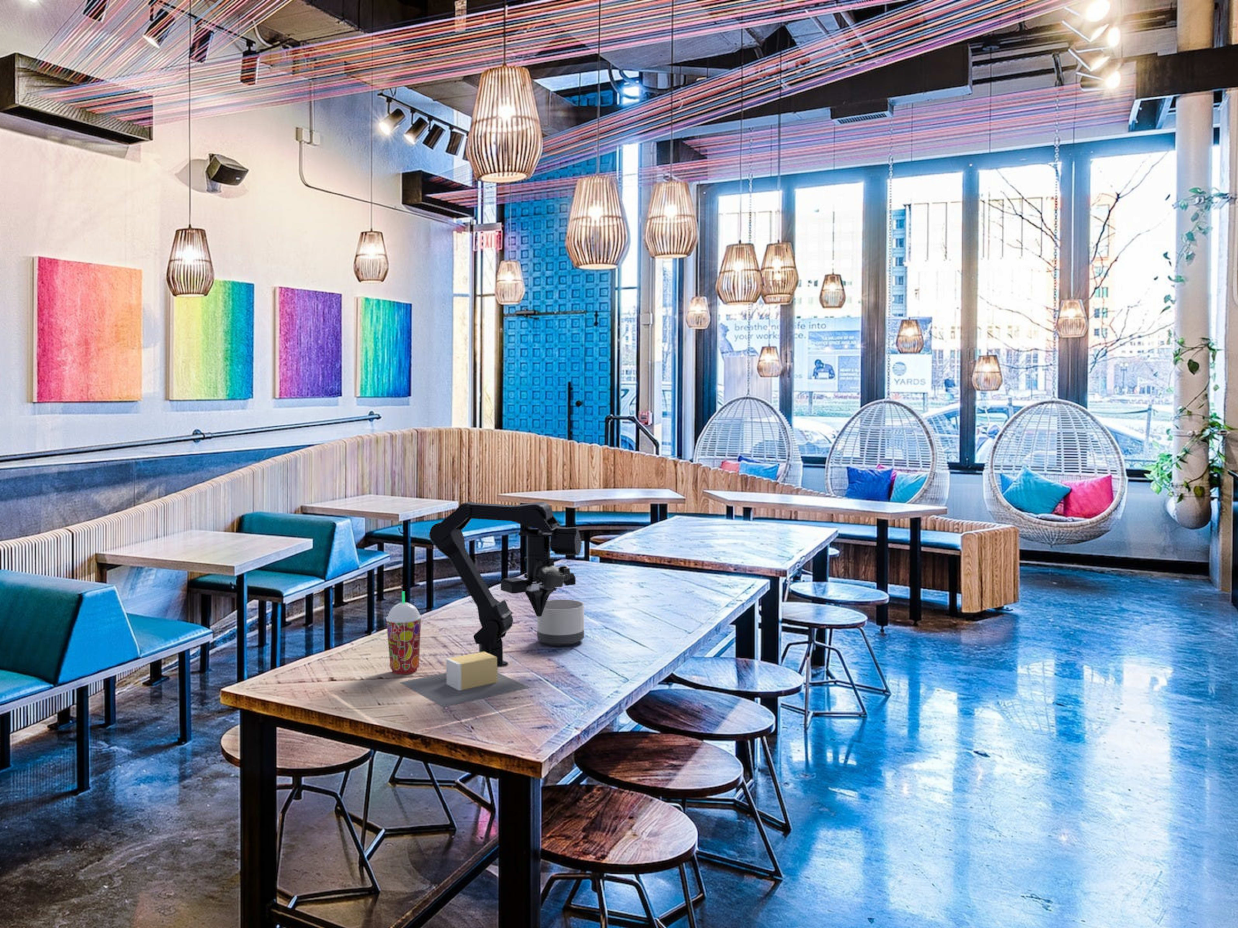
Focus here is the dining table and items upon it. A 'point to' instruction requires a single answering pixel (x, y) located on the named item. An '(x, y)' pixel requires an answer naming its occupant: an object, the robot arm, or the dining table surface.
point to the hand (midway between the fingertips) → (538, 616)
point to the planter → (561, 623)
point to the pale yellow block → (471, 670)
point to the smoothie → (404, 637)
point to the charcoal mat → (448, 695)
